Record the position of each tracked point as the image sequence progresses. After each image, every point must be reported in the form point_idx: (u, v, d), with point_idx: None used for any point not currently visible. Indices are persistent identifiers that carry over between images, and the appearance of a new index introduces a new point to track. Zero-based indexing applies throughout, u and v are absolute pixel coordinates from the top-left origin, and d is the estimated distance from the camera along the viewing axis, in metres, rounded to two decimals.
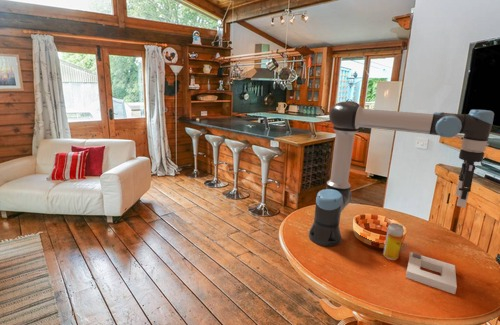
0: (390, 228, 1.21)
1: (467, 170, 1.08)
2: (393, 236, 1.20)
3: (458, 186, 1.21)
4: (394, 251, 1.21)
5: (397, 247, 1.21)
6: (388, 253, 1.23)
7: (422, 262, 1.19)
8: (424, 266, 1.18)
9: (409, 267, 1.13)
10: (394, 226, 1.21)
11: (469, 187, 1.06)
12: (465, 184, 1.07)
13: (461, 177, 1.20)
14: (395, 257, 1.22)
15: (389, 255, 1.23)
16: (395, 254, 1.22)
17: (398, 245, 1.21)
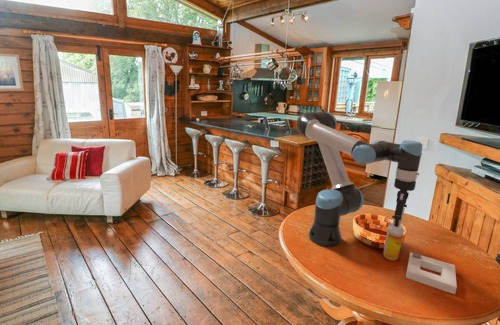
0: (390, 228, 1.21)
1: (398, 199, 1.12)
2: (393, 236, 1.20)
3: None
4: (394, 251, 1.21)
5: (397, 247, 1.21)
6: (388, 253, 1.23)
7: (422, 262, 1.19)
8: (424, 266, 1.18)
9: (409, 267, 1.13)
10: None
11: (400, 216, 1.11)
12: (396, 212, 1.11)
13: None
14: (395, 257, 1.22)
15: (389, 255, 1.23)
16: (395, 254, 1.22)
17: (398, 245, 1.21)
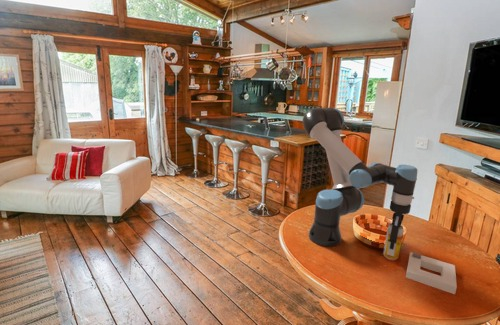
0: (390, 228, 1.21)
1: (393, 225, 1.16)
2: None
3: None
4: None
5: (397, 247, 1.21)
6: None
7: (422, 262, 1.19)
8: (424, 266, 1.18)
9: (409, 267, 1.13)
10: None
11: (395, 240, 1.17)
12: (391, 237, 1.17)
13: None
14: (395, 257, 1.22)
15: (389, 255, 1.23)
16: (395, 254, 1.22)
17: (398, 245, 1.21)
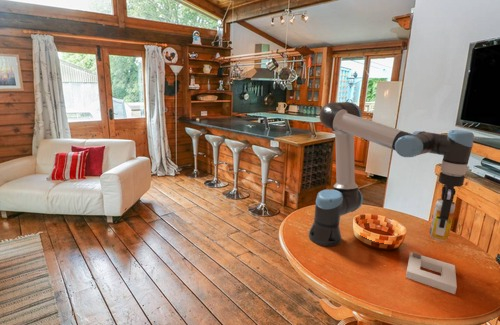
0: (439, 204, 1.06)
1: (445, 199, 1.01)
2: None
3: None
4: None
5: (447, 226, 1.06)
6: None
7: (422, 262, 1.19)
8: (424, 266, 1.18)
9: (409, 267, 1.13)
10: None
11: (447, 216, 1.01)
12: (443, 213, 1.02)
13: None
14: (445, 237, 1.07)
15: (437, 235, 1.07)
16: (445, 234, 1.06)
17: (449, 223, 1.05)
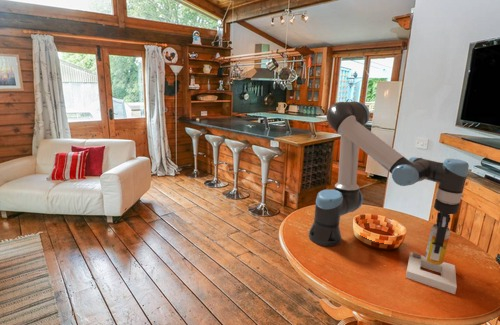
0: (434, 230, 1.08)
1: (440, 226, 1.03)
2: None
3: None
4: None
5: (442, 251, 1.08)
6: None
7: (422, 262, 1.19)
8: (424, 266, 1.18)
9: (409, 267, 1.13)
10: None
11: (441, 243, 1.04)
12: (437, 240, 1.04)
13: None
14: (440, 262, 1.09)
15: (432, 260, 1.10)
16: (440, 259, 1.09)
17: (444, 249, 1.08)
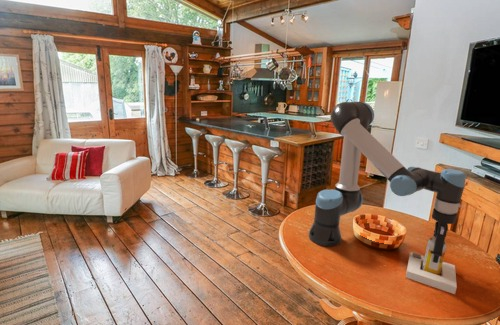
0: (431, 243, 1.10)
1: (439, 233, 1.03)
2: None
3: None
4: None
5: None
6: (428, 270, 1.12)
7: (422, 262, 1.19)
8: None
9: (409, 267, 1.13)
10: None
11: (440, 252, 1.02)
12: (436, 248, 1.03)
13: None
14: None
15: None
16: (436, 272, 1.11)
17: (440, 262, 1.10)
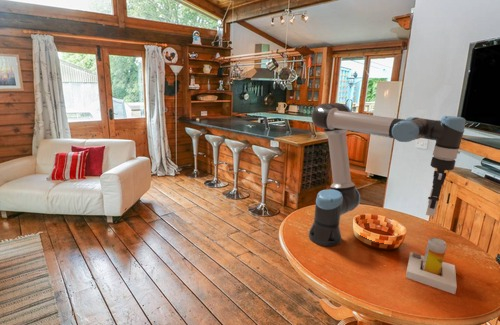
0: (431, 243, 1.10)
1: (436, 178, 1.04)
2: (434, 253, 1.09)
3: (431, 194, 1.18)
4: (435, 269, 1.10)
5: (438, 264, 1.10)
6: (428, 270, 1.12)
7: (422, 262, 1.19)
8: None
9: (409, 267, 1.13)
10: (435, 241, 1.10)
11: (437, 196, 1.03)
12: (434, 193, 1.04)
13: (434, 185, 1.16)
14: None
15: None
16: (436, 272, 1.11)
17: (440, 262, 1.10)
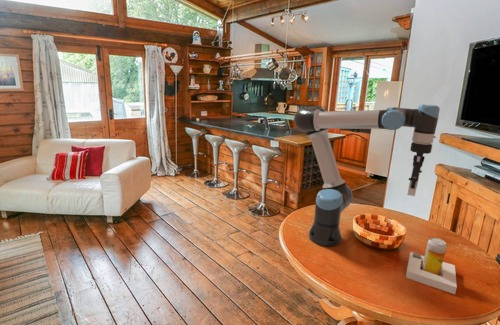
0: (431, 243, 1.10)
1: (415, 161, 1.15)
2: (434, 253, 1.09)
3: None
4: (435, 269, 1.10)
5: (438, 264, 1.10)
6: (428, 270, 1.12)
7: (422, 262, 1.19)
8: None
9: (409, 267, 1.13)
10: (435, 241, 1.10)
11: (416, 177, 1.14)
12: (413, 174, 1.14)
13: None
14: None
15: None
16: (436, 272, 1.11)
17: (440, 262, 1.10)
